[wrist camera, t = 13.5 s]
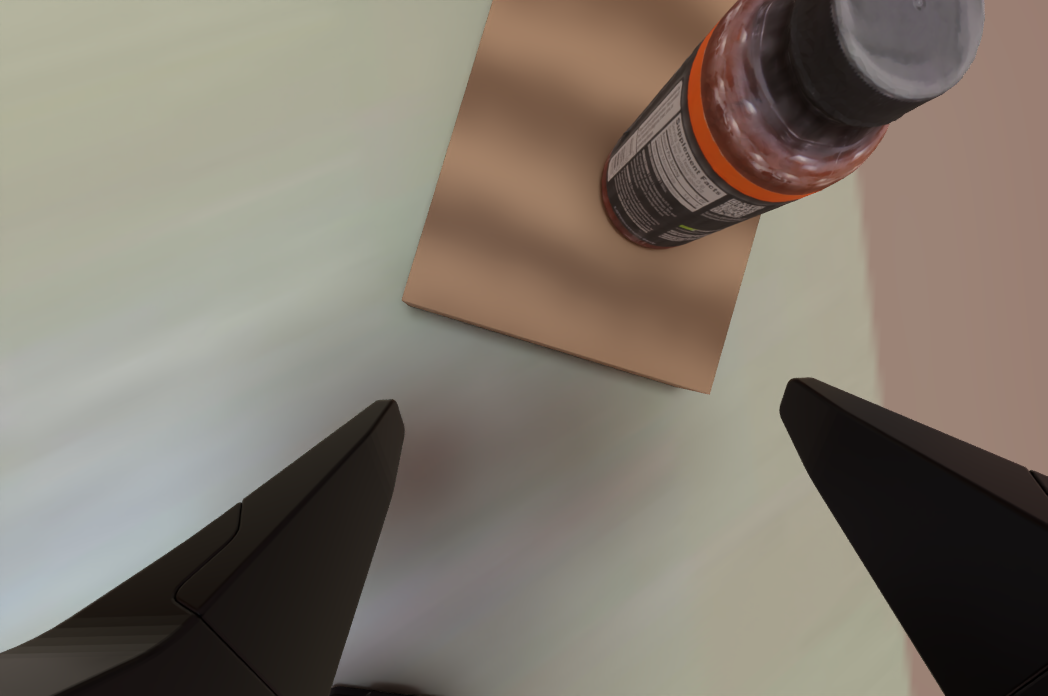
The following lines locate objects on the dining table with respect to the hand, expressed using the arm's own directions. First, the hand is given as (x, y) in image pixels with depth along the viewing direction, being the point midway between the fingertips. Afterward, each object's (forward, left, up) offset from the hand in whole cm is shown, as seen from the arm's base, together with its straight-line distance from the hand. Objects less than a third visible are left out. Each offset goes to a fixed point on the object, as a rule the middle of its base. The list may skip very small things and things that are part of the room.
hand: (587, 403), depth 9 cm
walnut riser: (+11, -2, -12) cm, 17 cm away
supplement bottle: (+10, -4, -10) cm, 15 cm away
